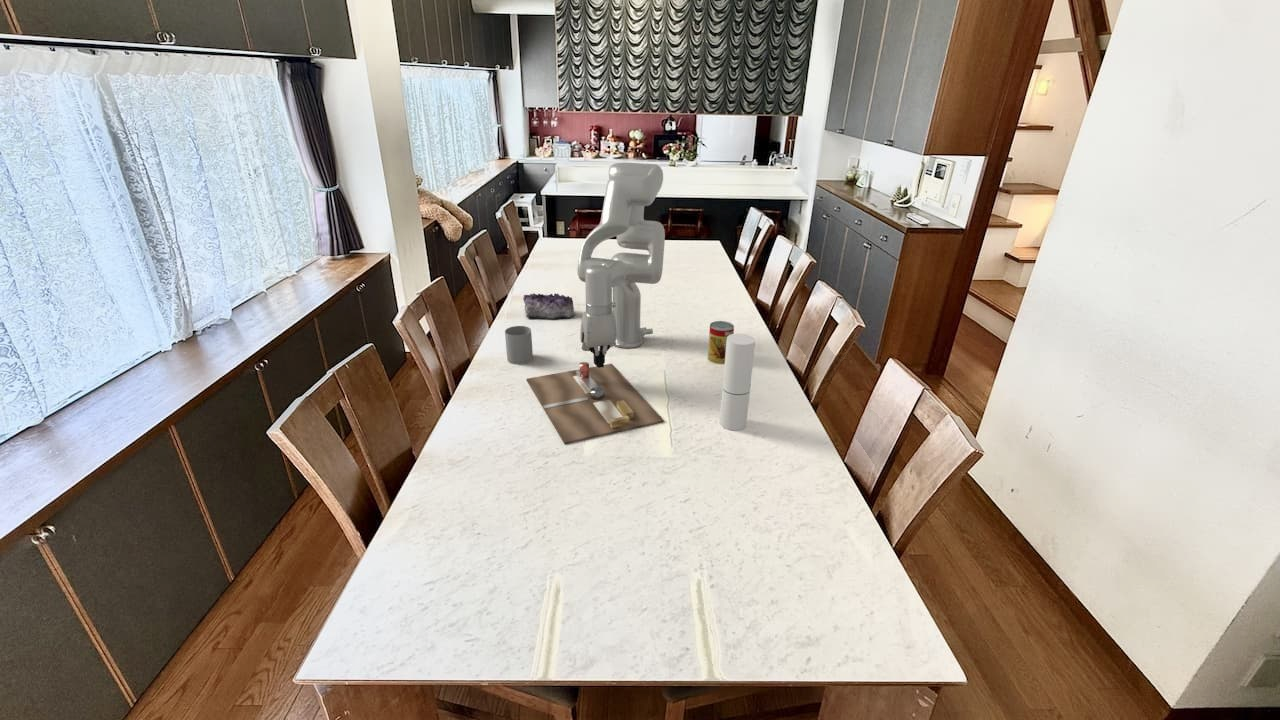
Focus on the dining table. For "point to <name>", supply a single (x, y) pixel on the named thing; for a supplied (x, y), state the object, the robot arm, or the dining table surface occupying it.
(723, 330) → the canned food
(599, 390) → the arm
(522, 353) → the cup
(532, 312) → the geode
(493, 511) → the dining table surface
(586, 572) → the dining table surface
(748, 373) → the cylindrical container
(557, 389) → the board
